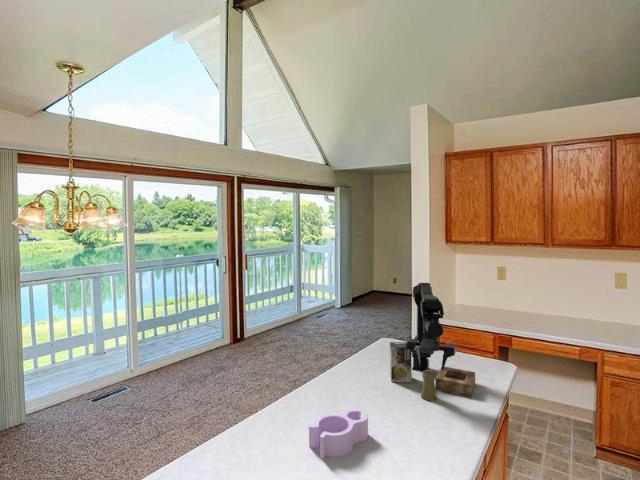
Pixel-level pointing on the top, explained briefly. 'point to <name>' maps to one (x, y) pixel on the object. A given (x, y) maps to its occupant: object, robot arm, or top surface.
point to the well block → (455, 381)
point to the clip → (338, 432)
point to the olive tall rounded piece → (428, 386)
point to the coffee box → (400, 362)
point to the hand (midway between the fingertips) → (430, 367)
